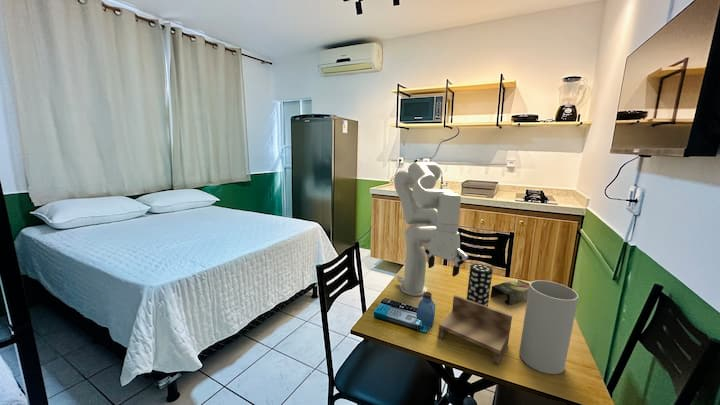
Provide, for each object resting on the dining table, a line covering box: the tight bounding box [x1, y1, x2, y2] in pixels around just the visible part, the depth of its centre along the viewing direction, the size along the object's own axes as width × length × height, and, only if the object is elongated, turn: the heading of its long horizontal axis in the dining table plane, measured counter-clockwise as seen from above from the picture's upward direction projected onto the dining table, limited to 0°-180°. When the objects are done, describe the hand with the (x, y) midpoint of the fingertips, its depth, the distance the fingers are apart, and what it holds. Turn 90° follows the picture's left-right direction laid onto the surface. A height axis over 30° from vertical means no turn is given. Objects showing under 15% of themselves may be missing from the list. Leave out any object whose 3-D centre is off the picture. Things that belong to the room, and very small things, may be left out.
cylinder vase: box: [518, 279, 579, 375], centre depth 91 cm, size 12×12×25 cm
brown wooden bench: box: [437, 294, 513, 367], centre depth 101 cm, size 20×13×12 cm, turn 51°
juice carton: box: [490, 278, 530, 306], centre depth 134 cm, size 20×10×6 cm, turn 118°
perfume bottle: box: [415, 291, 436, 329], centre depth 111 cm, size 6×6×12 cm
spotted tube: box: [466, 263, 493, 307], centre depth 118 cm, size 8×8×20 cm
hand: (442, 271), depth 108 cm, fingers open, 9 cm apart
